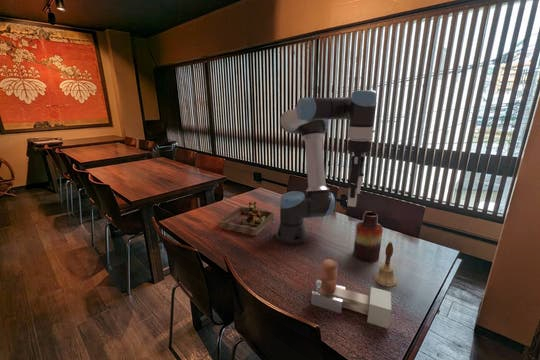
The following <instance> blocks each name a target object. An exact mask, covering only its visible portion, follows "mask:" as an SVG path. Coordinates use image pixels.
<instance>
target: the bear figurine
mask: <svg viewBox="0 0 540 360" xmlns="http://www.w3.org/2000/svg"><path fill="white" fill-rule="evenodd" d="M248 204H249V205H248V208H249V209H250V210H248V214H247V216H245V218H243V221H242V225H243V226H247V227H254V228H257V227H258V226H259V225H260V224H261V223H262V222H263V221H264V220H265V219H266V217H264V216H263V217H261V213H260V212H259V210H258V209H259V208H257V205H256V204H257V202H256V201H254V202H251V201H249V202H248Z"/></svg>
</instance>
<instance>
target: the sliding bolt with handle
mask: <svg viewBox="0 0 540 360" xmlns="http://www.w3.org/2000/svg"><path fill="white" fill-rule="evenodd" d="M338 266H339V265H338V262H337V261H335V260H334V259H329V258H327V259H324V260H323V261H322V268H321V270H322V271H321V289H320V293H322V294H325V295H329V296H332V297H336V298H339V299H342V300H343V302H342V309H343V308H344V309H347V310H350V311H354V312H356V313H360V314H363V315H367V316H368V311H369V304H370V295H367V294H364V293H360V292H356V291H353V290H349V289H346V288H345V289H342V288H338V287H336V285H337V275H338Z"/></svg>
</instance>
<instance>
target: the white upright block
mask: <svg viewBox="0 0 540 360" xmlns="http://www.w3.org/2000/svg"><path fill="white" fill-rule="evenodd" d="M369 296H370V304H369V311H368V315H367V320H366V322H367V324H371V325H374V326H377V327H380V328H384V329H387V330H388V329H389V326H390V320H391V316H392V315H391V314H392V292H391V291H388V290H384V289H380V288H376V287H372V286H371V287H370V293H369Z"/></svg>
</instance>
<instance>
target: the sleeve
mask: <svg viewBox="0 0 540 360" xmlns="http://www.w3.org/2000/svg"><path fill="white" fill-rule="evenodd" d="M321 281H322V279H321V280H320V279H316V281H315V290H312V291H311V298H310V299H311V302H310V304H311V305H312V306H315V307H319V308H322V309H325V310H329V311H332V312H335V313H338V314H342V312H343V307H342V302H343V300H342V299H339V298H336V297H332V296H329V295H325V294H322V293H320V289H321ZM336 287H338V288H342V289H346V287H345V286H343V285H339V284H336Z"/></svg>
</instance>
